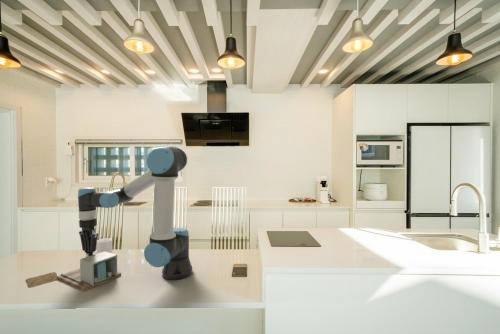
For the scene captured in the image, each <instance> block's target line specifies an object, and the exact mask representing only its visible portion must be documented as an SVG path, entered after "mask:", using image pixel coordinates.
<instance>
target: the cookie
mask: <svg viewBox="0 0 500 334" xmlns="http://www.w3.org/2000/svg"><path fill="white" fill-rule="evenodd" d="M57 276H58V275H57V273H56V272H55V271H54V272H49V273H45V274H41V275H38V276H34V277H29V278H26V279H25V282H26V284H27V288H28V289H30V288H35V287H39V286H41V285H45V284H49V283H52V282H56V281H60V280H59V279H58V278H57Z"/></svg>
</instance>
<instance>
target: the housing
mask: <svg viewBox="0 0 500 334" xmlns="http://www.w3.org/2000/svg"><path fill="white" fill-rule="evenodd" d="M103 261H106V271H109V272H111V274H113V275H115V276H117V275H118V274H117V272H118V254H115V253H113V252H112V253H109V252H106V251H104V252H101V253H98V254H95V253H94V254H93V255H92V256H89V257H86V256H85V257H82V258H80V259H79V269H80V279H81V281H83V282H85V283H87V284H90V285H92V286H93V285H94V264H97V263H100V262H103Z"/></svg>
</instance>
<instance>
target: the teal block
mask: <svg viewBox="0 0 500 334" xmlns="http://www.w3.org/2000/svg"><path fill="white" fill-rule="evenodd" d="M94 277H96V278H97V281H99V280H102V279H104V278H106V261H103V262H100V263H97V264H94Z"/></svg>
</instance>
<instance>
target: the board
mask: <svg viewBox="0 0 500 334" xmlns="http://www.w3.org/2000/svg"><path fill="white" fill-rule="evenodd" d="M117 274H118V275H117V276H115V275H113V274H111V272H109V271H106V278H104V279H102V280H99V281H97V278H96V277H94V285H93V286H92V285H90V284H87V283H85V282H83V281H81V279H80V268H77V269H74V270H71V271H69V272H68V271H67V272H66V273H60V274H59V275H57V278H58V279H59V280H58V281H61V282H64V283H66V284H68V285H70V286H72V287H74V288H76V289H79V290H81V291H84V292H85V291H88V290H91V289H92V288H95V287H97V286H100V285H102V284H104V283H107V282H109V281H111V280H114V279H116V278H119V277H121V276H122V272H119V271H117Z"/></svg>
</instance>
